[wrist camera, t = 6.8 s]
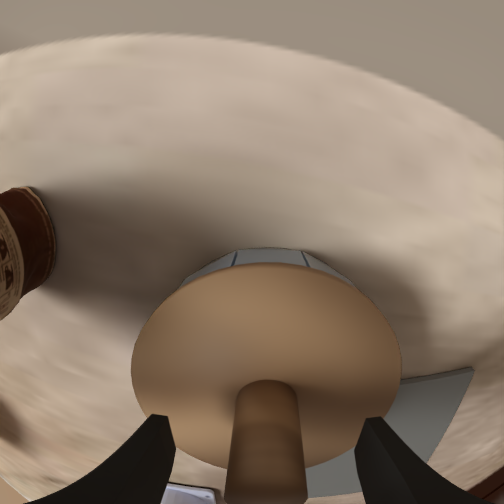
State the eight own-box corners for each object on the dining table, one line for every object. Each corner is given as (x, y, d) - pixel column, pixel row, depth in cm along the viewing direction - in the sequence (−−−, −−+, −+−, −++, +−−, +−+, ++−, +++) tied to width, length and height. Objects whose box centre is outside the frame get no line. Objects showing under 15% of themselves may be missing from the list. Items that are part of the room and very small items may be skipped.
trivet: (413, 476, 20) (414, 479, 19) (270, 495, 20) (270, 499, 20) (471, 366, 16) (474, 370, 16) (282, 387, 17) (282, 393, 16)
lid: (372, 450, 14) (396, 528, 8) (169, 458, 14) (146, 534, 9) (411, 252, 11) (505, 315, 5) (110, 269, 11) (19, 336, 6)
